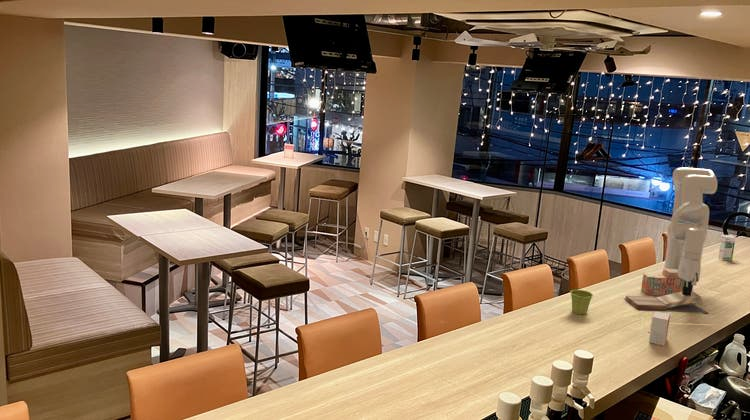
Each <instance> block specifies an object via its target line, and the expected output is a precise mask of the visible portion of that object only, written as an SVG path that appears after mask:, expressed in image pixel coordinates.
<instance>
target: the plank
mask: <svg viewBox="0 0 750 420" xmlns="http://www.w3.org/2000/svg"><path fill="white" fill-rule="evenodd" d="M655 298H656V299H658V300H659V301H661V302H662V303H664V304H665V305H667V307H666V308H670V307H675V306H679V305H684V304H688V303H697V302H701V301H702V296H701V295H700V294H698V293H696V292H694V290H692V291H691V295H690V296H687V295H683V294H682V292H678V293H673V294H669V295H659V296H656V297H655Z"/></svg>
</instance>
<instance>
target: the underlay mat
mask: <svg viewBox="0 0 750 420" xmlns="http://www.w3.org/2000/svg"><path fill="white" fill-rule="evenodd" d="M625 299H626V297H624V298H623V300H625ZM626 302H627V303H629V302H628V301H626ZM631 306H632V307H634V306H633V305H631ZM635 309H636V310H638V311H639V312H655V311H656V312H662V313H666V312H667V313H668V312H669V313H670V312H671V313H697V314H698V313H700V314H703V315H704V314H706V315H709V312H708V311H706V310H705V309H704V308H702V307H700V306H698V305H697V304H695V302H693V303H688V304H684V305H679V306H675V307H670V308H666V310H652V309H637V308H635Z"/></svg>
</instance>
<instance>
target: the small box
mask: <svg viewBox="0 0 750 420" xmlns="http://www.w3.org/2000/svg"><path fill="white" fill-rule="evenodd" d="M670 319H671V314H670V313H666V312H662V311H654V314H653V315H652V317H651V325H650V330H649V331H650V332H649V337H648V338H649V340H648V343H649V344H653V343H654V345H658V346H662V347H664V346H665V345H666V343H667V340H668V335H669V333H668V332H669V326H670Z"/></svg>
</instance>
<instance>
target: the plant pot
mask: <svg viewBox="0 0 750 420" xmlns="http://www.w3.org/2000/svg"><path fill="white" fill-rule="evenodd" d="M569 293H570V296H571V311H572V313H574V314H577V315H587V313H588V311H589V307H590V303H591V300H592V298H593V297H594V294H593V293H592V292H590V291H587V290H584V289H583V290H582V289H572V290H570V292H569Z"/></svg>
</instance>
